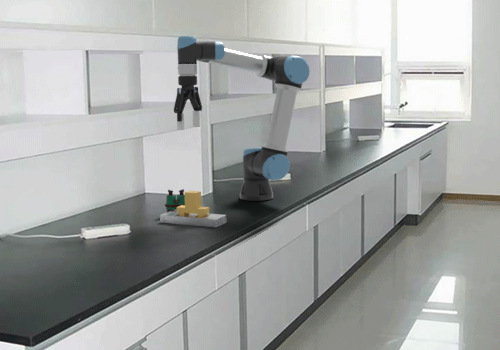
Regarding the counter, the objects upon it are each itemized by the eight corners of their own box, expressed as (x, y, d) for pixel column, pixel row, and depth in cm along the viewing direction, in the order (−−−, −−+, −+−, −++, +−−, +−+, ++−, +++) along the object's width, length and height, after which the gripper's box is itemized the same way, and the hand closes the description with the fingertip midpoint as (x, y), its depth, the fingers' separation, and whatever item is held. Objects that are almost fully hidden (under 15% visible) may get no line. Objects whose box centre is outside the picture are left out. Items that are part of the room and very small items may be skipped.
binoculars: (185, 187, 297) (187, 189, 287) (186, 213, 298) (188, 215, 288) (164, 188, 296) (164, 190, 286) (164, 213, 296) (165, 216, 287)
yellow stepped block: (177, 222, 277) (176, 191, 275) (182, 220, 281) (181, 190, 279) (205, 224, 272) (204, 193, 270) (209, 222, 276) (209, 192, 274)
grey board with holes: (171, 217, 285) (171, 210, 285) (226, 222, 276) (226, 214, 275) (160, 222, 277) (160, 214, 276) (216, 227, 268) (216, 219, 267)
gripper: (193, 74, 300) (194, 125, 303) (164, 76, 277) (165, 130, 280) (209, 74, 297) (210, 125, 300) (181, 76, 274) (182, 131, 277)
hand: (188, 128), depth 290 cm, fingers open, 13 cm apart
